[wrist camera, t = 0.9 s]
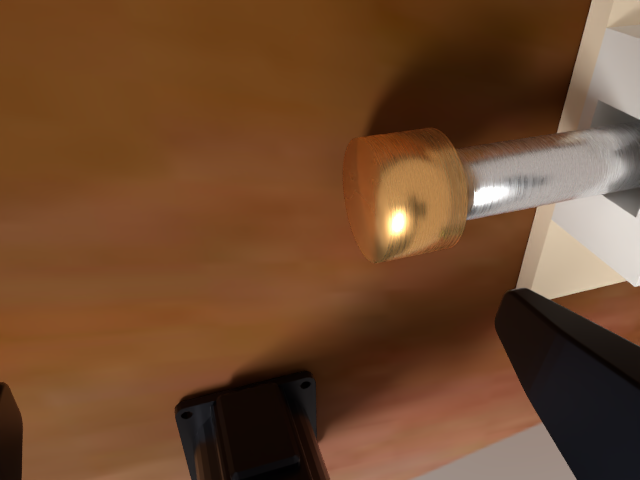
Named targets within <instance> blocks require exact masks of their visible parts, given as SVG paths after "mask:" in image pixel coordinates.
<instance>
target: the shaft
mask: <svg viewBox="0 0 640 480" xmlns="http://www.w3.org/2000/svg"><path fill="white" fill-rule="evenodd" d="M638 187H640V120H639V121H633V122H626V123H620V124H613V125H607V126H600V127H594V128H587V129H581V130H574V131H568V132H561V133H555V134H548V135H542V136H535V137H529V138H522V139H516V140H509V141H503V142H496V143H490V144H483V145H477V146H470V147H464V148H457V149H455V148H454V146H453V144H452V143H451V141H450V140H449V139H448V137H447V136H446V135H445V134H444V133H443V132H441V131H440V130H438V129H436V128H431V127H430V128H423V129H416V130H409V131H402V132H395V133H387V134H380V135H373V136H366V137H359V138H354V139H352V140H351V141H350V143H349V144H348V146H347V149H346V152H345V156H344V163H343V190H344V199H345V205H346V211H347V215H348V219H349V223H350V227H351V230H352V233H353V235H354V238H355V240H356V243H357V245H358V247H359V249H360V250H361V252H362V253H363V255H364V256H365V257H366V258H367V259H368V260H369V261H370V262H372V263H380V262H385V261H390V260H395V259H399V258H404V257H409V256H414V255H419V254H424V253H429V252H434V251H439V250H444V249H448V248H451V247H453V246H454V245H455V244H456V243H457V242H458V241H459V240H460V238H461V236H462V234H463V231H464V228H465V224H466V220H470V219H476V218H481V217H486V216H491V215H497V214H502V213H507V212H512V211H518V210H523V209H528V208H533V207H538V206H544V205H549V204H554V203H559V202H565V201H570V200H575V199H580V198H586V197H591V196H596V195H601V194H607V193H612V192H617V191H622V190H627V189H633V188H638Z"/></svg>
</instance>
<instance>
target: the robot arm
mask: <svg viewBox="0 0 640 480" xmlns="http://www.w3.org/2000/svg"><path fill="white" fill-rule="evenodd" d="M495 328H496V332H497V334H498V336H499V338H500V340H501V342H502V344H503V347H504V349H505V351H506V353H507V355H508V357H509V359H510V361H511V364H512V366H513V368H514V370H515V372H516V374H517V376H518V378H519V381H520V383H521V385H522V387H523V389H524V391H525V393H526V395H527V397H528V398H529V400H530V402H531V404H532V405H533V407H534V409H535V411H536V412H537V414H538V416H539V417H540V419H541V421H542V422H543V424H544V426H545V427H546V429H547V430H548V432H549V434H550V436H551V437H552V439H553V440H554V442H555V444H556V446H557V447H558V449H559V451H560V452H561V454H562V456H563V457H564V459H565V461H566V462H567V464H568V465H569V467H570V469H571V470H572V472H573V474H574V475H575V477H576V479H577V480H640V346H638V345H636V344H634V343H632V342H630V341H628V340H626V339H624V338H622V337H620V336H619V335H617V334H615V333H613V332H611V331H609V330H607V329H605V328H603V327H601V326H599V325H597V324H595V323H594V322H592V321H590V320H588V319H586V318H584V317H582V316H580V315H578V314H576V313H574V312H572V311H570V310H569V309H567V308H565V307H563V306H561V305H559V304H557V303H555V302H553V301H551V300H549V299H547V298H545V297H543V296H542V295H540V294H538V293H536V292H534V291H532V290H530V289H528V288H518V289H512V290H508V291H507V292H505V294H504V295H503V298H502V300H501V303H500V306H499V309H498V311H497V314H496V317H495ZM187 411H188V412H187ZM175 418H176V422H177V426H178V430H179V434H180V438H181V441H182V445H183V449H184V453H185V457H186V460H187V464H188V468H189V472H190V476H191V480H330V477H329V474H328V471H327V469H326V466H325V463H324V460H323V457H322V454H321V452H320V449H319V446H318V443H317V428H316V382H315V379H314V377H313V374H312V373H311V372H308V371H304V372H299V373H295V374H291V375H287V376H283V377H279V378H275V379H271V380H267V381H263V382H259V383H255V384H251V385H247V386H243V387H239V388H235V389H231V390H227V391H223V392H219V393H215V394H211V395H207V396H202V397H198V398H194V399H190V400H186V401H183V402H180V403H179V404H178V405H176V407H175ZM22 439H23V423H22V417H21V413H20V411H19V408H18V406H17V404H16V402H15V399H14V397H13V395H12V392H11V390H10V388H9V386H8V385H7V384H6V383H4V382H0V480H21V478H22Z"/></svg>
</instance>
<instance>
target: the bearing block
mask: <svg viewBox="0 0 640 480" xmlns="http://www.w3.org/2000/svg"><path fill="white" fill-rule="evenodd" d="M639 120H640V0H592V2H591V6H590V10H589V14H588V18H587V21H586V25H585V29H584V33H583V36H582V40H581V44H580V48H579V51H578V55H577V59H576V63H575V67H574V70H573V74H572V78H571V82H570V85H569V89H568V93H567V97H566V101H565V104H564V108H563V112H562V116H561V119H560V123H559V127H558V131H557V133H561V132H568V131H574V130H581V129H587V128H594V127H600V126H607V125H613V124H620V123H626V122H633V121H639ZM624 281H628V282H630V283H631V284H632V285H633V286H635V287H636V286H640V187H638V188H633V189H627V190H622V191H617V192H612V193H607V194H601V195H596V196H591V197H586V198H580V199H575V200H570V201H565V202H559V203H554V204H549V205H544V206H538V207H537V210H536V214H535V217H534V221H533V225H532V229H531V233H530V236H529V240H528V244H527V248H526V251H525V255H524V259H523V263H522V266H521V270H520V274H519V278H518V282H517V285H516V289H518V288H528V289H530V290H532V291H534V292H536V293H538V294H540V295H542V296H543V297H545V298H547V299H553V298H558V297H562V296H566V295H570V294H574V293H578V292H582V291H586V290H591V289H595V288H599V287H603V286H607V285H611V284H615V283H620V282H624Z"/></svg>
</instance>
